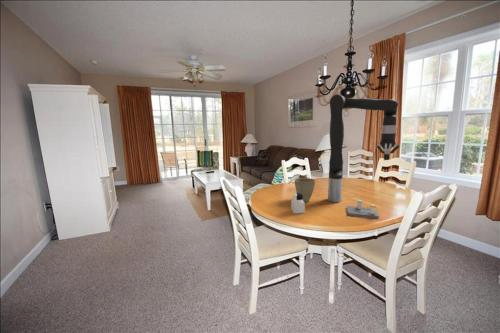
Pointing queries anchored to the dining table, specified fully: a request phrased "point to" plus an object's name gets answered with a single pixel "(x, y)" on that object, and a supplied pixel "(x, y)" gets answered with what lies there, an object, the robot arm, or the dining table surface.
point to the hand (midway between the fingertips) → (386, 159)
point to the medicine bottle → (298, 203)
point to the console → (361, 212)
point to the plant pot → (305, 187)
